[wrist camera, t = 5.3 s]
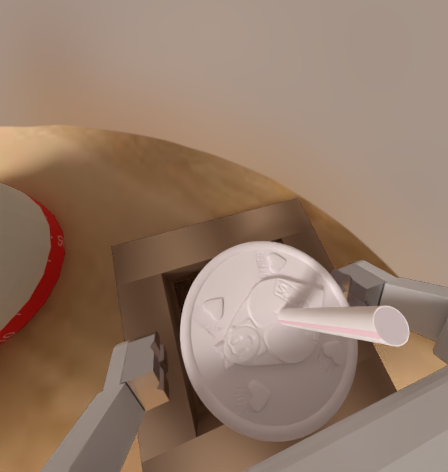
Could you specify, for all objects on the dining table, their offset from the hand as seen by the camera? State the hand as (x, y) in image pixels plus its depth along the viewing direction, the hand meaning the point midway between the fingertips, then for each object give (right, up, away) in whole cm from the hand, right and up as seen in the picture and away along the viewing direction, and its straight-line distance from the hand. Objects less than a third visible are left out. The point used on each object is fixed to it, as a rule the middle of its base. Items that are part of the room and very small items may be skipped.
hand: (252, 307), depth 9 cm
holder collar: (0, -3, +7) cm, 8 cm away
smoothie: (0, -3, +7) cm, 8 cm away
